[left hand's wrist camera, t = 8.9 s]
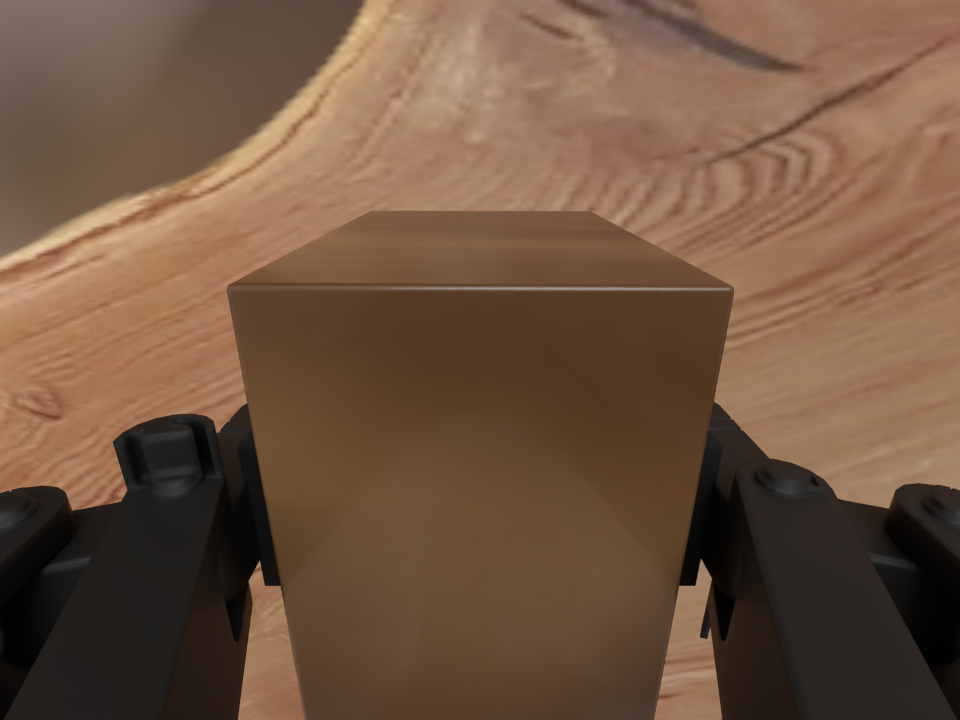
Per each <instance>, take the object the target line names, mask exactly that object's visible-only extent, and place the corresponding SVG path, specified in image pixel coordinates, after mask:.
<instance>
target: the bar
mask: <svg viewBox="0 0 960 720" xmlns="http://www.w3.org/2000/svg"><path fill="white" fill-rule="evenodd" d="M227 293H228V299H229V304H230V310H231V315H232V321H233V326H234V332H235V337H236V343H237V348H238V354H239V359H240V365H241V370H242V376H243V381H244V387H245V392H246V398H247V403H248V409H249V414H250V420H251V425H252V431H253V436H254V442H255V447H256V453H257V458H258V464H259V469H260V475H261V480H262V486H263V491H264V497H265V502H266V508H267V513H268V519H269V524H270V530H271V535H272V541H273V546H274V552H275V557H276V563H277V568H278V574H279V579H280V585H281V590H282V596H283V601H284V607H285V612H286V618H287V623H288V629H289V634H290V640H291V645H292V651H293V656H294V662H295V667H296V673H297V678H298V684H299V689H300V695H301V700H302V706H303V711H304V717H305V720H654V716H655V711H656V706H657V700H658V695H659V690H660V684H661V679H662V674H663V668H664V663H665V658H666V652H667V647H668V642H669V636H670V631H671V626H672V620H673V615H674V610H675V604H676V599H677V594H678V588H679V583H680V578H681V573H682V567H683V562H684V557H685V551H686V546H687V541H688V535H689V530H690V525H691V519H692V514H693V509H694V503H695V498H696V493H697V487H698V482H699V477H700V471H701V466H702V461H703V455H704V450H705V445H706V439H707V434H708V429H709V423H710V418H711V413H712V407H713V402H714V397H715V391H716V386H717V381H718V375H719V370H720V365H721V359H722V354H723V349H724V343H725V338H726V333H727V327H728V322H729V317H730V312H731V306H732V301H733V296H734V289H733V286H731V285H729V284H727V283H725V282H723V281H721V280H719V279H718V278H716V277H714V276H712V275H710V274H708V273H706V272H704V271H702V270H700V269H699V268H697V267H695V266H693V265H691V264H689V263H687V262H685V261H683V260H681V259H680V258H678V257H676V256H674V255H672V254H670V253H668V252H666V251H664V250H662V249H661V248H659V247H657V246H655V245H653V244H651V243H649V242H647V241H645V240H643V239H642V238H640V237H638V236H636V235H634V234H632V233H630V232H628V231H626V230H625V229H623V228H621V227H619V226H617V225H615V224H613V223H611V222H609V221H607V220H606V219H604V218H602V217H600V216H598V215H596V214H594V213H592V212H590V211H370V212H368V213H366V214H364V215H363V216H361V217H359V218H357V219H355V220H353V221H351V222H349V223H347V224H345V225H343V226H341V227H339V228H337V229H336V230H334V231H332V232H330V233H328V234H326V235H324V236H322V237H320V238H318V239H316V240H314V241H312V242H310V243H309V244H307V245H305V246H303V247H301V248H299V249H297V250H295V251H293V252H291V253H289V254H287V255H285V256H284V257H282V258H280V259H278V260H276V261H274V262H272V263H270V264H268V265H266V266H264V267H262V268H260V269H258V270H257V271H255V272H253V273H251V274H249V275H247V276H245V277H243V278H241V279H239V280H237V281H235V282H233V283H231V284H230V285H228V289H227Z"/></svg>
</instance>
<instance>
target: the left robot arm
mask: <svg viewBox="0 0 960 720" xmlns="http://www.w3.org/2000/svg"><path fill="white" fill-rule="evenodd" d="M113 444H114V447H115V451H116V454H117V457H118V460H119V464H120V467H121V470H122V474H123V477H124V480H125V483H126V487H127V492H126V494H125V496H124V498H123V500H122V501H121V502H118V503H113V504H107V505H102V506H97V507H91V508H86V509H80V510H75V511H72V509H71V506H70V503H69V500H68V498H67V495H66V492H64V491H63V490H61V489H59V488H58V487H51V486H36V487H28V488H25V487H23V488H18V489H13V490H12V491H11V492H9V491H6V492H3V493H0V720H238V713H239V706H240V698H241V690H242V682H243V674H244V667H245V659H246V651H247V643H248V635H249V628H250V620H251V612H252V604H253V603H252V596H251V591H250V586H249V582H248V581H249V579H250V577H251V575H252V573H253V572H254V570H255V568H256V566H257V564H258V562H259V560H260V563H261V568H262V573H263V578H264V583H265V586H281V585H280V579H279V574H278V568H277V563H276V557H275V552H274V546H273V541H272V535H271V530H270V524H269V519H268V513H267V508H266V502H265V497H264V491H263V486H262V480H261V475H260V469H259V464H258V458H257V453H256V447H255V442H254V436H253V431H252V425H251V420H250V414H249V409H248V403H247V404H246V405H244V406H242V407H241V408H240V409H239V410H238V411H237V412H236V413H235V415H234V416H233V417H232V418H231V419H230V422H227V423H226V424H225V425H224V426H223V427H222V429H221V430H220V433H217V434H216V430H215V425H214V421H213V420H211V419H210V418H208V417H207V416H203V415H197V414H175V415H170V416H165V417H160V418H155V419H153V420H150V421H147V422H144V423H141V424H138V425H136V426H134V427H132V428H130V429H129V430H127V431H125V432H123V433H122V434H121V435H120V436H119V437H117V438H116V439H115V440H114V441H113ZM701 559H702V561H703V563H704V564H705V566H706V568H707V570H708V572H709V574H710V576H711V577H712V582H711V586H710V591H709V595H708V600H707V605H706V609H705V614H704V618H703V623H702V628H701V634H700V637H701V638H705V639H707V638H708V633H709V629H710V628H711V634H712V642H713V650H714V657H715V665H716V673H717V681H718V688H719V696H720V704H721V712H722V720H960V490H957V489H954V488H953V489H950V487H946V486H941V485H929V484H921V483H917V484H907V485H903V486H901V487H900V488H898V489H897V490H896V491H895V493H894V496H893V499H892V502H891V505H890V507H889V509H888V508H882V507H877V506H871V505H866V504H861V503H855V502H850V501H844V500H840V499H837V497H836V495H835V493H834V491H833V489H832V488H831V487H830V486H829V485H828V484H827V483H826V481H825V480H824V479H822V478H821V477H819V476H818V475H816V474H814V473H813V472H811V471H810V470H808V469H805V468H803V467H800V466H798V465H795V464H793V463H789V462H785V461H781V460H776V459H769V458H768V457H767V456H766V454H765V453H764V452H763V451H762V450H761V449H760V448H759V447H758V446H757V445H756V444H755V443H754V442H753V441H752V440H751V438H750V437H749V436H748V435H747V434H746V433H745V432H744V431H741V428H740V427H739V426H738V425H737V424H736V423H735V421H734V420H731V417H730V416H729V415H728V414H727V413H726V412H725V411H724V410H723V409H722V408H721V407H720V405H718V404H717V403H715V402H713V407H712V413H711V418H710V423H709V429H708V434H707V439H706V445H705V450H704V455H703V461H702V466H701V471H700V477H699V482H698V487H697V493H696V498H695V503H694V509H693V514H692V519H691V525H690V530H689V535H688V541H687V546H686V551H685V557H684V562H683V567H682V573H681V578H680V583H679V586H695V585H696V580H697V575H698V570H699V565H700V560H701Z"/></svg>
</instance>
